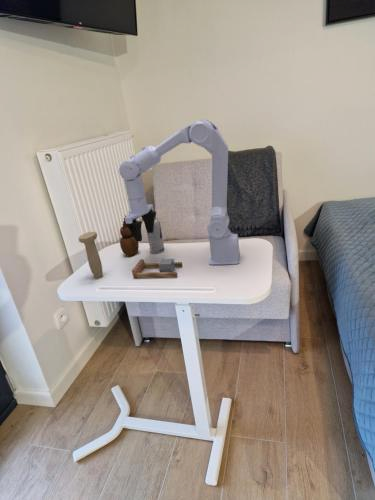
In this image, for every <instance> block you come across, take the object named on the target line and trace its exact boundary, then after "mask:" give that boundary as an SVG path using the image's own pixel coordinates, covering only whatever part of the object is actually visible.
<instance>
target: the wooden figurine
mask: <svg viewBox="0 0 375 500" xmlns="http://www.w3.org/2000/svg"><path fill="white" fill-rule="evenodd" d="M125 217H127V215H126V214H125V215H124V217H123V222H122V226H121V227H120V230H119V233H120V236H121V238H120V239H119V245H120V246H119V247H120V249H121V251H122V253H123V254H124V255H125V256H127V257H131V256H134V255H136V254H137V253H138V252H139V249H140V247H139V246H140V245H139V241H136V240H135V238H134V236H133V234H132V233H131V231H130V230H129V229H128V228H127V226H125V222H126V221H125Z"/></svg>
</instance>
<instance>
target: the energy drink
mask: <svg viewBox="0 0 375 500" xmlns="http://www.w3.org/2000/svg"><path fill="white" fill-rule="evenodd" d="M146 234H147V235H146V236H147V240H148V245H149V246H148V247H149V249H150V253H151V254H160V253H162V252H164V251H165V245H164V239H163V231H162V227H161V222H160V220H159V218H155V220H154V230H153V233H147V232H146Z"/></svg>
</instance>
